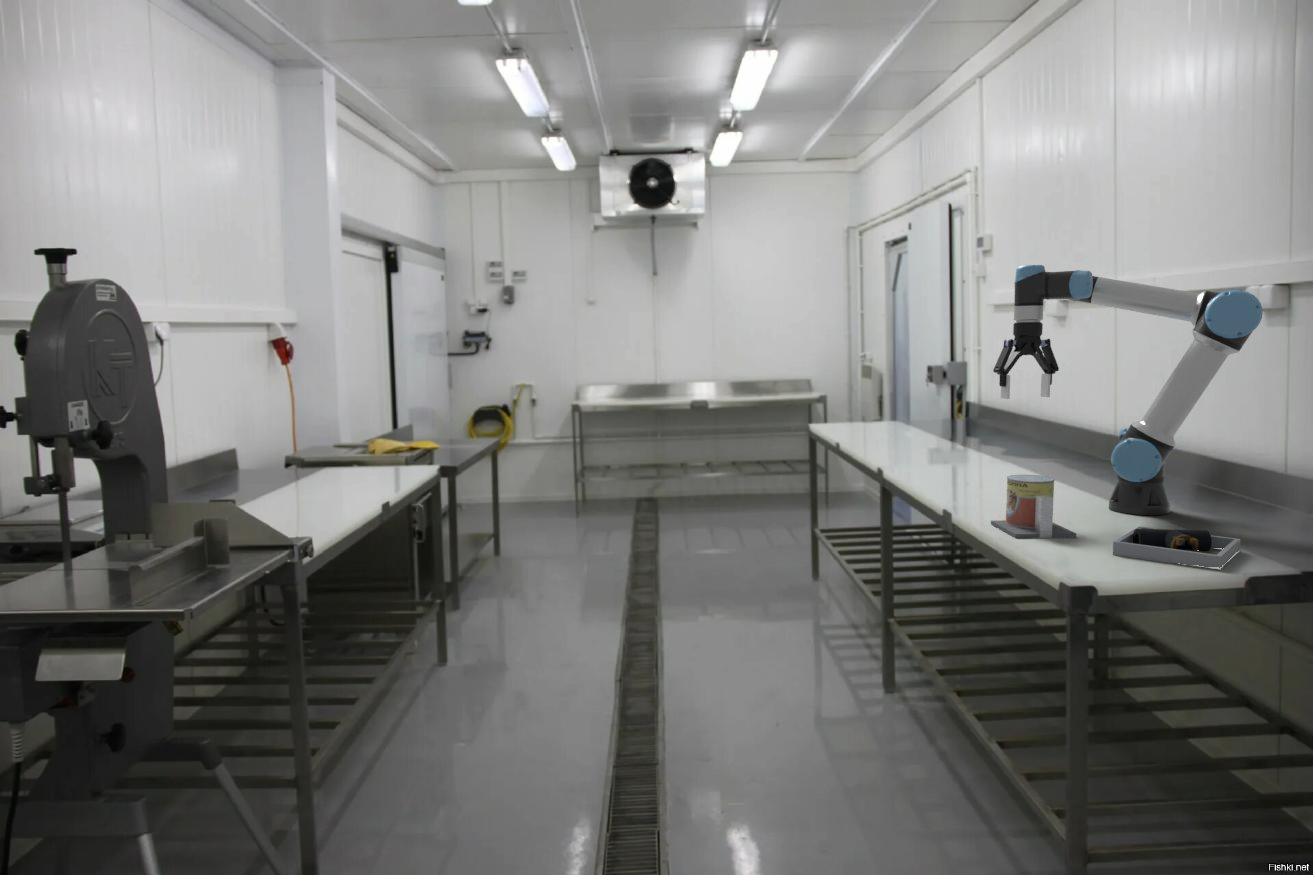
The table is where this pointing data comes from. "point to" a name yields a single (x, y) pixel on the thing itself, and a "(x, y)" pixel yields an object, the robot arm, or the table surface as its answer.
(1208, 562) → the parts corral
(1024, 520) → the canned food
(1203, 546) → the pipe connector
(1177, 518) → the table surface
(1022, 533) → the rubber mat
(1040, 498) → the block
